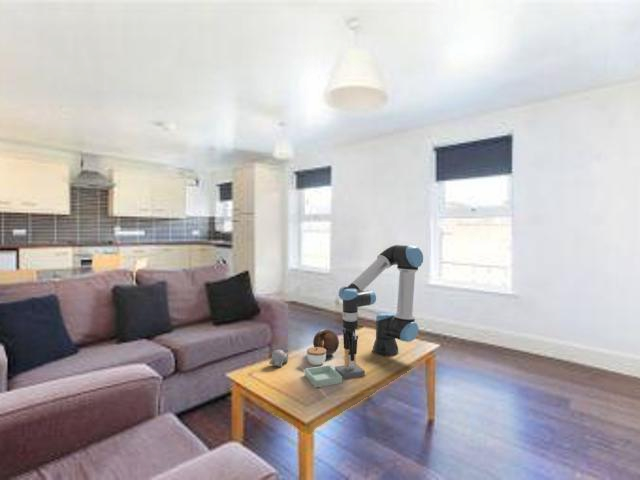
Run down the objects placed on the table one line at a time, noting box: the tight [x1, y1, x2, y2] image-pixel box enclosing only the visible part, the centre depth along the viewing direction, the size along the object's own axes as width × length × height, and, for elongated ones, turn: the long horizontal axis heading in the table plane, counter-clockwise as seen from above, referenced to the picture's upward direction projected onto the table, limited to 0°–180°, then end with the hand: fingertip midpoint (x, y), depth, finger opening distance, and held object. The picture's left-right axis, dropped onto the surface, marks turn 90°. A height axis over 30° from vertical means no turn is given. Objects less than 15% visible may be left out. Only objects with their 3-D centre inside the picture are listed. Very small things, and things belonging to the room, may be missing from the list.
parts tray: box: [304, 364, 343, 389], centre depth 178 cm, size 14×16×4 cm
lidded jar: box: [306, 346, 327, 366], centre depth 198 cm, size 11×11×9 cm
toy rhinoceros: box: [269, 349, 290, 368], centre depth 197 cm, size 7×12×8 cm, turn 140°
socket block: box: [334, 363, 366, 380], centre depth 185 cm, size 12×10×3 cm
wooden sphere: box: [312, 328, 340, 357], centre depth 212 cm, size 15×15×15 cm
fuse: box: [344, 349, 357, 370], centre depth 184 cm, size 5×3×12 cm, turn 111°
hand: (350, 365), depth 185 cm, fingers closed on fuse, 3 cm apart
